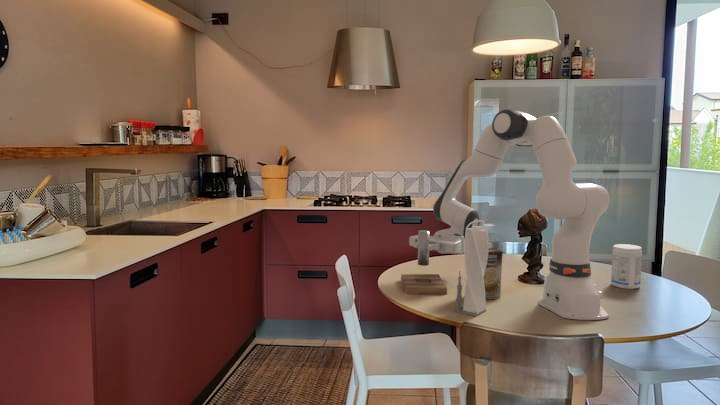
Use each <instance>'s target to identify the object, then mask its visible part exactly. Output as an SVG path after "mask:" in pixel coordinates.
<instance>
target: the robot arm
mask: <svg viewBox="0 0 720 405" xmlns="http://www.w3.org/2000/svg"><path fill="white" fill-rule="evenodd" d="M514 145H516V146H517V147H532V148H533V151H534V154H535V156H536V159H537V162H538V166H539V168H540V171H541V177H542V184H541V188H540V189H539V191H538V192H537V193H536V196H535V207H536V210H537V212H538V213H539V214H540V215H541V216H542V217H544V218H549V219H553V220H554V219H555V220H563V223H562V225H561V226H560V228H559V229H558V230H556V231H555V232H554V234H553V236H552V240H551V258H550V259H549V263H548V264H549V266H548V268H549V274H547V276H546V277H545V278H544V283H543V290H542V291H543V292H542V298H541V299H539V300H538V302H537V304H538V305H540V306H542V307H544V308H545V309H547V310H549V311H551V312H552V313H553V314H556V315H557V316H559V317H561V318H563V319H570V320H580V321H584V320H585V321H593V320H595V321H596V320H598V321H599V320H605V319H608V318H609V314H608V312H607V311H606V310H605V309H604V308H603V306H601V300H602V299H603V291H599V290H598V289H597V285H596V284H595V283H594V281H593V279H592V277H591V276H592V271H591V270H592V267H591V263H590V261H589V260H590V247H591V246H590V245H591V238H592V235H593V232H594V229H595V227H596V224H597V223H598V220H599V219H600V217H601V216H602V215H603V213H605V212H606V211H607V210H608V208H609V206H610V203H611V202H610V201H611V198H610V194H609V192H608V190H607V189H606V188H605V187H604V186H603V185H599V184H596V183H592V182H581V183H580V182H579V183H577V182H574V181H573V178H572V171H574V169H575V168H576V165H577V161H578V160H577V158H576V156H575V153H574V150H573V148H572V145H571V143H570V141H569V138H568V136H567V134H566V132H565V130H564V128H563V127H562V125H561V123H559V121H558V119H557V118H555V117H554V116H551V115H544V116H540V117H537V116H534V115H532V114H529V113H527V112H524V111H521V110H520V111H519V110H516V109H512V108H511V109H509V108H508V109H502V110H500V111H498V112H497V113H495V115H494V117H493V119H492V122H491V124H489V125H487V126H486V127H485V128H484V130H483V131H482V133H481V135H480V137H479V139H478V141H477V143H476V145H475V148H474V150H473V152H472V153H471V155H470V156H469V157H468V158H467V159H463V160H462V161H461V162H460V163H459V164H458V166H457V167H456V169H455V170H454V172H453V174H452V175H451V177H450V179H449V181H448V182H447V184H446V186H445V188H444V189H443V191H442V192H441V194H440V196H439V197H438V198H437V199H436V201H435V202H434V204H433V206H432V210H433V215H434V218H435V219H436V220H438V221H440V222H442V223H445V224H447V225H449V226H450V227H449V228H446V229H445V228H444V229H441V230H437V231H436V232H435V233H434V234H433V235H430V238H429V245H427V250H429V252H430V251H436V252H437V253H439V254H442V255H443V254H453V255H454V254H460V255H462V254H464V244H465V232H466V227H467V226H468V224H469V223H471V222H473V221H476V220H480V215H479V212H478V210H476V209H474V208H472V207H471V206H468V205H466V204H464V203H462V202H461V201H458V200H457V199H456V197H457V195H458V193H459V191H460V189H461V187H462V186H463V185H464V183H465V181H466V180H468V179H469V178H470V179H471V178H488V177H491V176H494V175H495V174H496V173H497V172H498V171H499V170H500V168H501V167H502V164H503V162H504V159H505V157H506V154H507V153H508V150H509V149H510V147H511V146H514ZM472 226H480V222H474V223H472V224H470V225H469V227H468V228H472ZM408 239H409V240H408V242H409V243H408V244H409V246H410V247H414V248H415V249H418V234H416V235H411V236H409V238H408Z"/></svg>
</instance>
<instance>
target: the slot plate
mask: <svg viewBox="0 0 720 405" xmlns="http://www.w3.org/2000/svg"><path fill="white" fill-rule="evenodd" d="M400 279H401V283H402V286H403V289H404V292H405V294H406V295H448V287H447V284H446V283H445V282H444V280H443V279H442V277H441V276H440V274H439V273H413V274H412V273H409V274H408V273H401V278H400Z"/></svg>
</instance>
